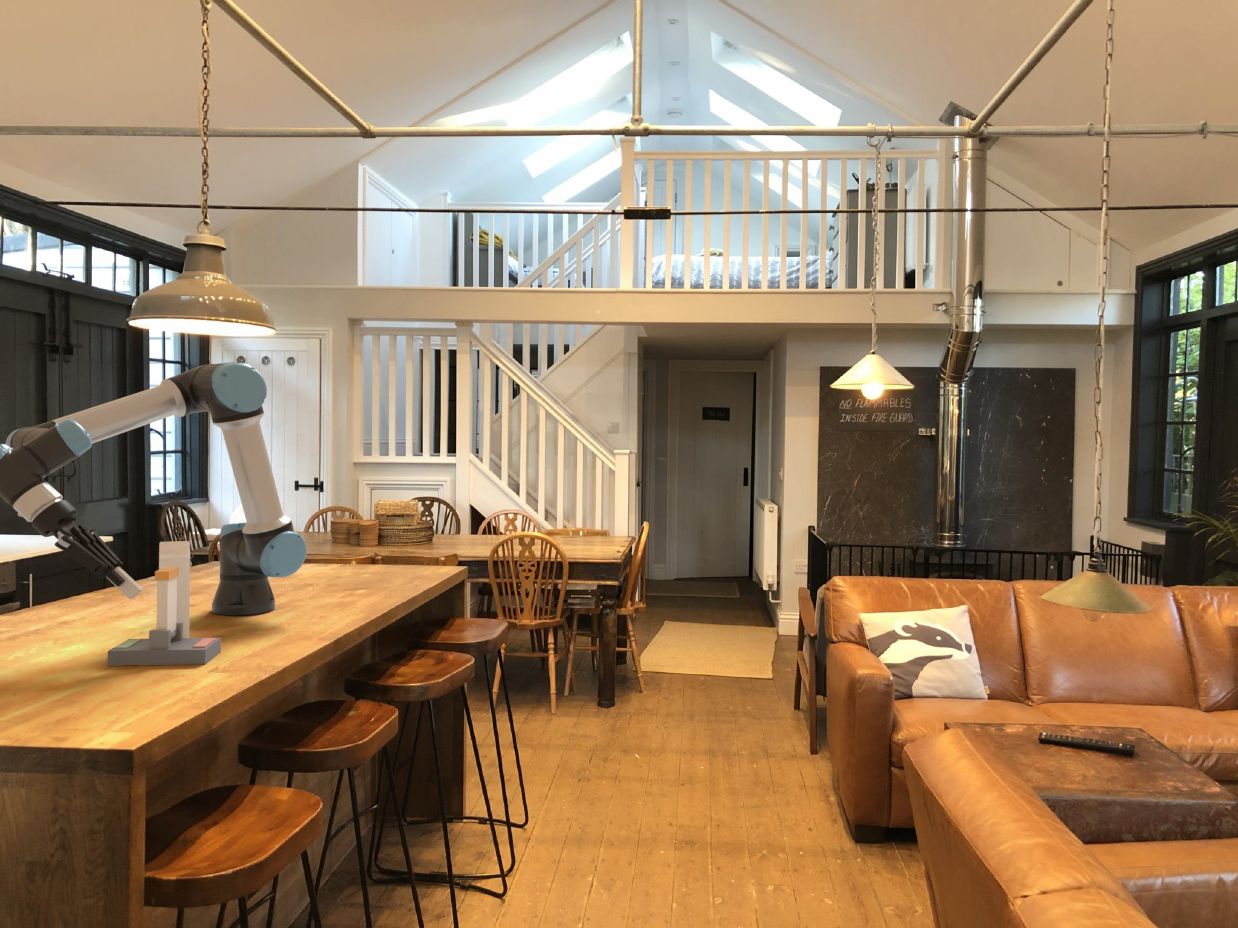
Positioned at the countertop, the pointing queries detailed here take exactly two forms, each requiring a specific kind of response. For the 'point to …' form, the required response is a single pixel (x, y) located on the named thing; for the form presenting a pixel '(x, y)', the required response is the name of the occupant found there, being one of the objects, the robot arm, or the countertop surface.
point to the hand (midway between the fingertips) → (136, 594)
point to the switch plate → (165, 649)
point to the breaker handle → (167, 598)
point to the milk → (179, 577)
